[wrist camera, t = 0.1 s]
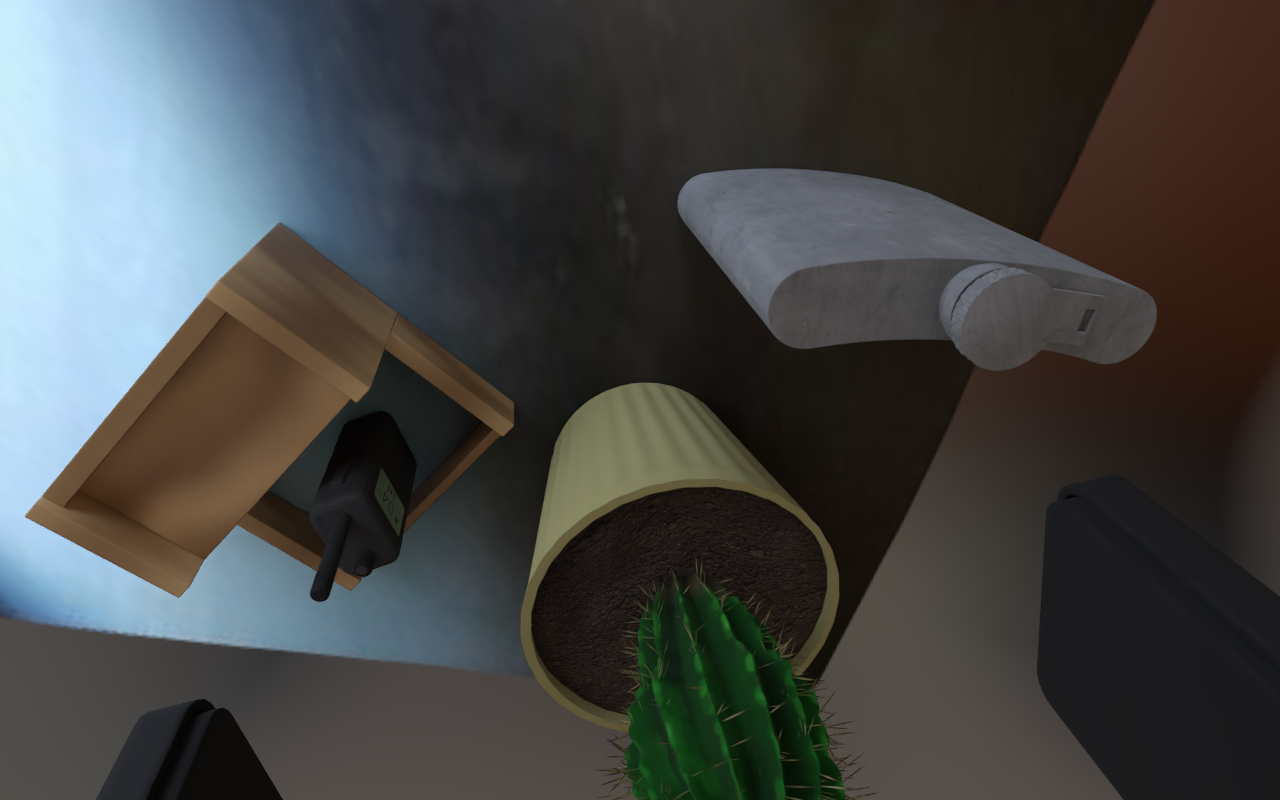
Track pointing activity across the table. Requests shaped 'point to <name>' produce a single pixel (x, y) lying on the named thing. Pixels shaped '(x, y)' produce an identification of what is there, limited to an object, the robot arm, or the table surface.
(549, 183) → the table surface
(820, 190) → the hip flask
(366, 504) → the walkie-talkie
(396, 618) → the table surface
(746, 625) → the potted cactus
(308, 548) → the step shelf
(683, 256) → the table surface
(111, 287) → the table surface
